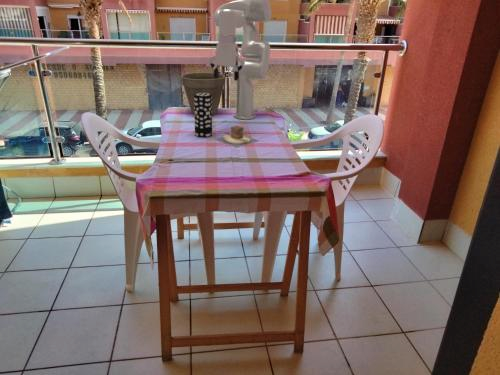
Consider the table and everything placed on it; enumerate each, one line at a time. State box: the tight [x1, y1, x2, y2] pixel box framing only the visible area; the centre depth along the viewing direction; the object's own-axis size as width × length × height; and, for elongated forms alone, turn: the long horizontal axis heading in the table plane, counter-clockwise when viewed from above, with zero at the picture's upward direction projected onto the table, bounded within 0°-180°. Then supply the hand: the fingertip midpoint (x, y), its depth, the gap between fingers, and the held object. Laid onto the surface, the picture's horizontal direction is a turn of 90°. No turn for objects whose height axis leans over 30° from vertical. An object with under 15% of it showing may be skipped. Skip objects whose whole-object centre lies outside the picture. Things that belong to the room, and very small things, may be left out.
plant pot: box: [180, 72, 226, 116], centre depth 214 cm, size 25×25×22 cm
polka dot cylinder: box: [193, 93, 213, 139], centre depth 175 cm, size 8×8×20 cm
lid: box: [222, 125, 252, 145], centre depth 173 cm, size 13×13×6 cm
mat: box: [214, 136, 260, 148], centre depth 174 cm, size 15×15×1 cm
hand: (226, 79), depth 172 cm, fingers open, 9 cm apart
